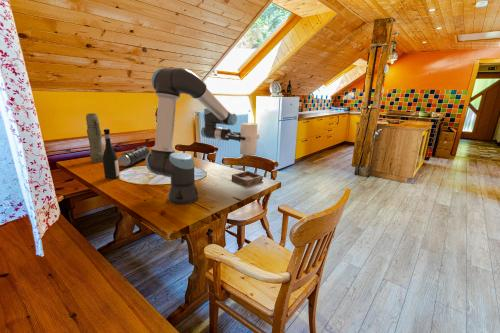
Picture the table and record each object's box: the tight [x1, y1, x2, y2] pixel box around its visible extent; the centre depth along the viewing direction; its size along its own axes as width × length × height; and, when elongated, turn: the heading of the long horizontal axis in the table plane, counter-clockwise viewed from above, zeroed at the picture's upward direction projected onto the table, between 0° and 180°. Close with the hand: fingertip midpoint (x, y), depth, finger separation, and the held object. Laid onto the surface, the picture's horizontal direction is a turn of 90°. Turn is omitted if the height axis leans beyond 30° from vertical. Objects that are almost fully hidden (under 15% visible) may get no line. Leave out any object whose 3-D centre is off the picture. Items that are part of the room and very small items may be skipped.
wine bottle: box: [102, 128, 120, 180], centre depth 153 cm, size 8×8×30 cm
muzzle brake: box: [118, 145, 150, 167], centre depth 188 cm, size 10×28×10 cm, turn 174°
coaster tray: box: [231, 170, 264, 187], centre depth 161 cm, size 14×14×4 cm
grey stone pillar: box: [85, 112, 104, 164], centre depth 185 cm, size 9×12×35 cm
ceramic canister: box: [239, 122, 258, 156], centre depth 154 cm, size 10×10×18 cm
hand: (255, 137), depth 152 cm, fingers closed on ceramic canister, 10 cm apart
